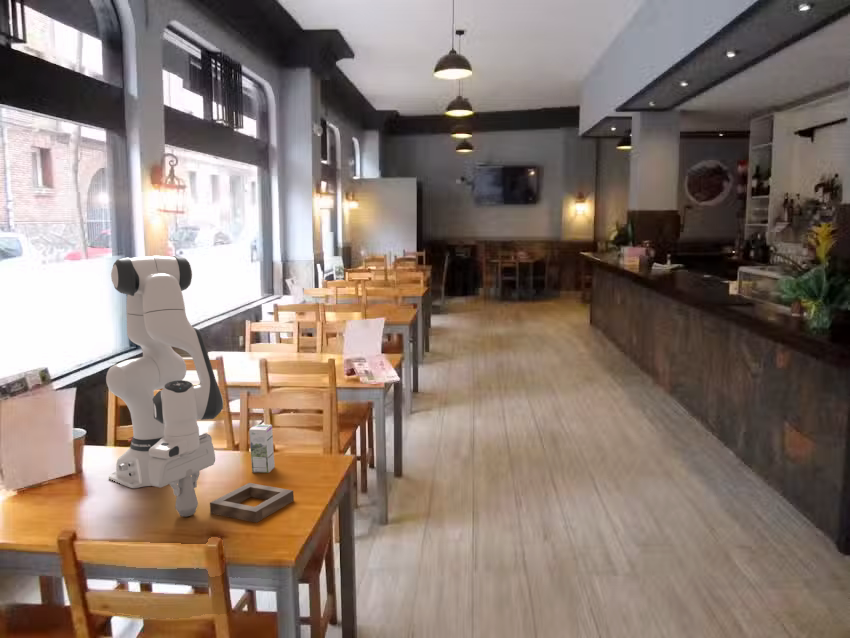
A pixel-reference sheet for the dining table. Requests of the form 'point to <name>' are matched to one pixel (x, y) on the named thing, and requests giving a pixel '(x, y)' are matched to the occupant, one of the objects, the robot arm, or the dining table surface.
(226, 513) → the walnut socket
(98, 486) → the dining table surface
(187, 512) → the salt shaker
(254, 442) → the syrup box
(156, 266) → the robot arm
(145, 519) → the dining table surface
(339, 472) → the dining table surface
